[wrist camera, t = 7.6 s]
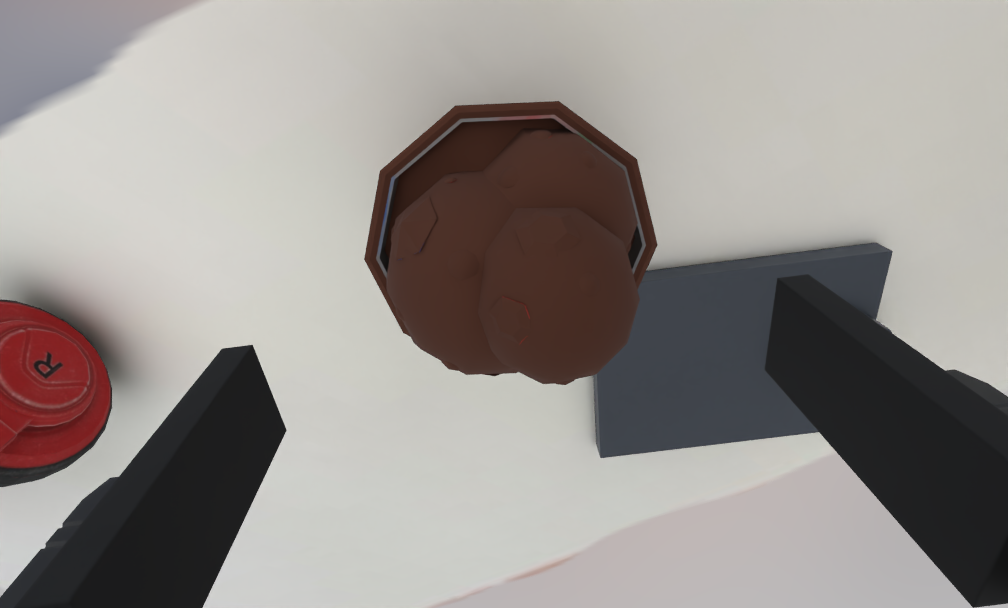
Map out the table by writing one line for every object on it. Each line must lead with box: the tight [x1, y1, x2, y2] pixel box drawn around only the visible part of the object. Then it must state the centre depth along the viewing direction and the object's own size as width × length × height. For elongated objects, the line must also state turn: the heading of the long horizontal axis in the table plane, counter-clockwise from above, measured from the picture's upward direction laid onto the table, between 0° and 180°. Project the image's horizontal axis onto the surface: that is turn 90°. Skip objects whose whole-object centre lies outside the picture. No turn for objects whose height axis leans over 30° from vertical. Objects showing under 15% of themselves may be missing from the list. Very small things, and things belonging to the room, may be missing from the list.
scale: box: [593, 243, 892, 458], centre depth 32 cm, size 18×13×3 cm
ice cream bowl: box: [364, 101, 657, 385], centre depth 21 cm, size 11×11×15 cm
